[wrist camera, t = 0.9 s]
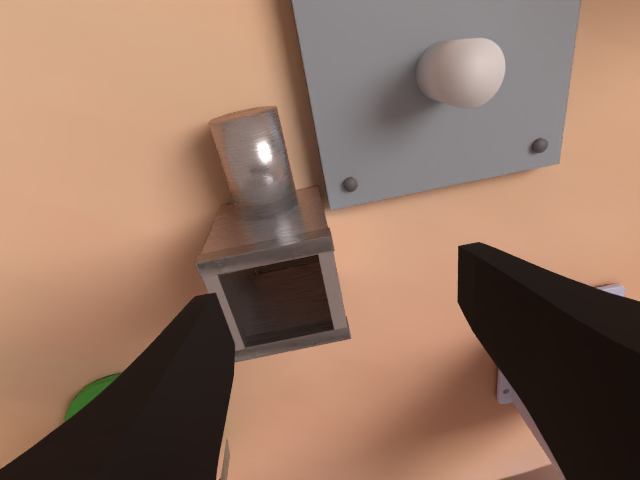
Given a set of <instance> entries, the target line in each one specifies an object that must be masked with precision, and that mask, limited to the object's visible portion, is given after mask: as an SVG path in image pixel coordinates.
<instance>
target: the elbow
mask: <svg viewBox="0 0 640 480" xmlns="http://www.w3.org/2000/svg"><path fill="white" fill-rule="evenodd" d="M208 123H209V126H210V129H211V132H212V136H213V139H214V142H215V145H216V148H217V151H218V154H219V158H220V161H221V164H222V167H223V170H224V173H225V176H226V180H227V183H228V186H229V189H230V192H231V195H232V198H233V202H234V203H231V204H226V205H221V207H220V209H219V212H218V214H217V216H216V219H215V221H214V224H213V226H212V228H211V231H210V233H209V236H208V238H207V240H206V243H205V245H204V248H203V250H202V252H201V254H199V255H198V257H197V260H196V262H195V265H196V267H197V270H198V272H199V275H200V277H201V278H202V279H203V281H204V284H205V286H206V288H207V291H208V293H209V294H210V293H215V292H216V294H217V297H218V300H219V302H220V305H221V308H222V310H223V313H224V316H225V318H226V321H227V324H228V326H229V329H230V332H231V334H232V337H233V340H234V342H235V362H239V361H244V360H249V359H254V358H258V357H263V356H268V355H273V354H278V353H283V352H288V351H293V350H298V349H303V348H308V347H313V346H318V345H323V344H328V343H333V342H338V341H342V340H347V339H351V336H350V330H349V325H348V321H347V317H346V316H345V310H344V305H343V300H342V295H341V289H340V284H339V279H338V274H337V268H336V263H335V258H334V253H333V251H334V246H333V241H332V235H331V231H330V228H328V225H327V221H326V217H325V213H324V209H323V205H322V201H321V197H320V193H319V189H318V186H314V187H309V188H304V189H299V190H296V189H295V185H294V180H293V176H292V172H291V167H290V163H289V158H288V154H287V150H286V145H285V141H284V136H283V132H282V127H281V123H280V119H279V114H278V110H277V107H276V106H265V107H257V108H252V109H247V110H242V111H238V112H233V113H230V114H226V115H223V116H220V117H217V118H214V119H212V120H210V121H209V122H208ZM313 255H318V256H319V261H320V262H316V263H311V264H306V265H301V266H296V267H291V268H286V269H282V270H277V271H272V272H267V273H262V274H257V275H255V273H254V270H253V268H254V267H259V266H264V265H269V264H274V263H279V262H283V261H288V260H293V259H298V258H303V257H308V256H313Z"/></svg>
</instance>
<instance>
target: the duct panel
mask: <svg viewBox="0 0 640 480" xmlns="http://www.w3.org/2000/svg"><path fill="white" fill-rule="evenodd" d="M291 3H292V8H293V14H294V19H295V25H296V30H297V35H298V41H299V46H300V52H301V57H302V63H303V68H304V73H305V79H306V84H307V90H308V95H309V100H310V106H311V111H312V117H313V122H314V127H315V133H316V138H317V144H318V149H319V154H320V160H321V165H322V171H323V176H324V181H325V187H326V192H327V198H328V203H329V207H330V210H335V209H340V208H345V207H350V206H355V205H359V204H364V203H369V202H374V201H379V200H384V199H389V198H394V197H399V196H403V195H408V194H413V193H418V192H423V191H428V190H433V189H438V188H443V187H447V186H452V185H457V184H462V183H467V182H472V181H477V180H482V179H486V178H491V177H496V176H501V175H506V174H511V173H516V172H521V171H526V170H530V169H535V168H540V167H545V166H550V165H555V164H559V162H560V154H561V147H562V139H563V131H564V124H565V116H566V109H567V101H568V94H569V86H570V79H571V71H572V64H573V56H574V48H575V41H576V33H577V26H578V18H579V11H580V3H581V0H291Z"/></svg>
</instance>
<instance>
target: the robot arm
mask: <svg viewBox="0 0 640 480" xmlns="http://www.w3.org/2000/svg"><path fill="white" fill-rule="evenodd" d="M624 295H625V287H623V286H622V285H621V284H612V285H607V286H602V287H597V288H594V287H591V286H588V285H586V284H583V283H580V282H577V281H575V280H572V279H569V278H566V277H564V276H561V275H559V274H556V273H554V272H551V271H549V270H546V269H544V268H541V267H539V266H536V265H534V264H532V263H529V262H527V261H525V260H522V259H520V258H518V257H515V256H513V255H511V254H508V253H506V252H503V251H501V250H499V249H496V248H494V247H491V246H489V245H486V244H483V243H480V242H477V243H472V244H467V245H461V246H458V304H459V306H460V308H461V310H462V312H463V314H464V316H465V318H466V320H467V321H468V323H469V325H470V327H471V329H472V331H473V332H474V334H475V335H476V337H477V338H478V340H479V341H480V342H481V344H482V345H483V347H484V348H485V350H486V351H487V353H488V354H489V355H490V357H491V358H492V360H493V361H494V362H495V364H496V365H497V367H498V368H499V369H498V383H497V397H496V398H497V400H498V402H499V403H500V404H508V403H513V404H514V406H515V407H516V409H517V410H518V412H519V413H520V415H521V417H522V418H523V420H524V421H525V423H526V424H527V426H528V427H529V429H530V430H531V432H532V433H533V435H534V436H535V438H536V439H537V441H538V443H539V444H540V446H541V447H542V449H543V450H544V452H545V453H546V455H547V456H548V458H549V459H550V461H551V462H552V464H553V466H554V467H555V469H556V470H557V472H558V473H559V474H560V476H561V477H562V478H563V480H640V302H639V301H636V300H633V299H629V298H626V297H624ZM234 363H235V342H234V340H233V337H232V334H231V332H230V329H229V326H228V324H227V321H226V318H225V316H224V313H223V310H222V308H221V305H220V302H219V300H218V297H217V294H216V292H215V293H210V294H205V295H200V296H195V297H194V298H193V299H192V300H191V301H190V302H189V303H188V304H187V305H186V306H185V307H184V308H183V310H182V311H181V312H180V313H179V314H178V315H177V316H176V317H175V318H174V319H173V321H172V322H171V323H170V324H169V325H168V326H167V327H166V328H165V329H164V330H163V331H162V333H161V334H160V335H159V336H158V337H157V338H156V339H155V340H154V341H153V342H152V343H151V344H150V346H149V347H148V348H147V349H146V350H145V351H144V352H143V353H142V354H141V355H140V356H139V357H138V358H137V359H136V360H135V361H134V362H133V363H132V364H131V365H130V366H129V367H128V368H127V369H126V370H125V371H124V372H123V373H122V374H120V375H119V376H118V377H117V378H116V379H115V380H114V381H113V382H112V383H111V384H110V385H109V386H107V387H106V388H105V389H104V390H103V391H102V392H101V393H100V394H98V395H97V396H96V397H95V398H94V399H93V400H91V401H90V402H89V403H88V404H87V405H86V406H84V407H83V408H82V409H81V410H80V411H78V412H77V413H76V414H75V415H73V416H72V417H71V418H69V419H68V420H67V421H65V422H64V423H63V424H62V425H60V426H59V427H58V428H56V429H55V430H54V431H52V432H51V433H50V434H49V435H47V436H46V437H45V438H43V439H42V440H41V441H39V442H38V443H37V444H36V445H34V446H33V447H31V448H30V449H29V450H27V451H26V452H24V453H23V454H22V455H20V456H19V457H17V458H16V459H15V460H13V461H12V462H10V463H9V464H7V465H6V466H5V467H3V468H2V469H0V480H216V474H217V466H218V459H219V453H220V447H221V442H222V437H223V431H224V426H225V421H226V415H227V410H228V405H229V399H230V394H231V388H232V383H233V377H234Z"/></svg>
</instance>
